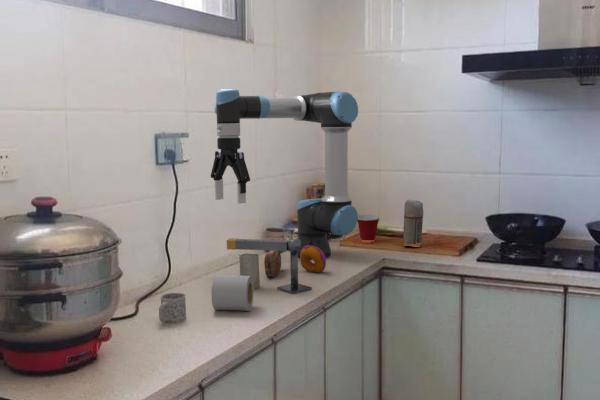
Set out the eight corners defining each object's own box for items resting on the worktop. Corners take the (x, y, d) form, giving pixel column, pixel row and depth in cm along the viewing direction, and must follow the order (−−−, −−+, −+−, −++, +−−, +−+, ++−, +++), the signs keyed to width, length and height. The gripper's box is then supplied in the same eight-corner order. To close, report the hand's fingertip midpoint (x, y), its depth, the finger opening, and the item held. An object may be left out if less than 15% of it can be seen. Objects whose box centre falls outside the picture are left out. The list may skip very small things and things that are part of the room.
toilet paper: (212, 314, 182) (211, 279, 181) (221, 304, 192) (220, 271, 191) (246, 315, 181) (245, 280, 179) (253, 304, 191) (253, 272, 189)
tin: (272, 279, 220) (271, 255, 219) (263, 279, 221) (262, 255, 220) (282, 269, 235) (281, 247, 234) (273, 269, 235) (273, 246, 234)
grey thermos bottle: (411, 243, 280) (411, 198, 277) (426, 246, 273) (426, 200, 271) (398, 246, 274) (398, 200, 272) (413, 249, 268) (414, 202, 266)
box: (260, 287, 210) (259, 254, 209) (252, 290, 207) (251, 256, 205) (247, 285, 213) (247, 252, 212) (239, 287, 210) (238, 254, 208)
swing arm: (302, 249, 207) (301, 239, 207) (299, 252, 203) (299, 241, 202) (230, 247, 212) (230, 237, 212) (226, 249, 208) (226, 239, 207)
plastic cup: (352, 244, 280) (352, 217, 279) (358, 239, 290) (358, 213, 289) (377, 245, 277) (377, 218, 275) (382, 241, 287) (382, 214, 285)
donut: (317, 268, 235) (317, 242, 234) (328, 274, 227) (328, 246, 226) (297, 270, 232) (297, 243, 231) (307, 276, 224) (307, 248, 223)
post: (295, 284, 213) (295, 248, 211) (311, 289, 207) (311, 251, 205) (277, 289, 207) (276, 251, 206) (293, 294, 201) (292, 255, 200)
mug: (170, 314, 182) (169, 291, 181) (190, 317, 180) (189, 294, 179) (149, 325, 173) (148, 301, 172) (170, 327, 170) (170, 303, 169)
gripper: (199, 136, 217) (201, 198, 219) (240, 138, 198) (241, 205, 200) (218, 136, 221) (220, 197, 224) (260, 137, 202) (261, 203, 205)
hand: (230, 201), depth 212 cm, fingers open, 13 cm apart
